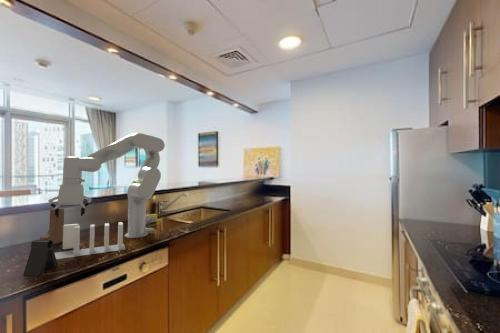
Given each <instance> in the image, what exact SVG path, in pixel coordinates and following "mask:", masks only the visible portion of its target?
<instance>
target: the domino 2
mask: <svg viewBox="0 0 500 333" xmlns="http://www.w3.org/2000/svg"><path fill="white" fill-rule="evenodd" d="M80 229H81V226H80V225H79V226H75V228H74V248H73V250H74V253H73V255H78V254H79V250H80V237H81V236H80V235H81V230H80Z"/></svg>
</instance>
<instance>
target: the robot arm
mask: <svg viewBox="0 0 500 333" xmlns="http://www.w3.org/2000/svg"><path fill="white" fill-rule="evenodd" d="M165 145H166V144H165V142H164V140H163V139H161V138H160V137H157V136H152V135H149V134H146V133H142V132H141V133H140V132H135V133H130V134H128V135H126V136H124V137H122V138H120V139H118V140H116V141H115V142H112V143H111V144H109V145H106V146H104V147H103V148H101V149H98V150H96V151H94V152H92V153H91V154H88V155H87V156H84V157H79V156H78V157H77V156H65V157H64V158H63V168H62V183H61V184H60V185H59V190H58V195H57V196H55V197H52V198H50V199H48V201H47V202H48V203H49V205H50V206H51V207H52V209H55V215H56V217H59V208H60V207H61V206H70V205H71V206H72V205H73V206H75V205H76V206H77V205H79V206H81V210H80V216H81V217H83V216H84V215H85V213H86V212H85V210H86V207H88V206H89V205H90V203H91V202H92V200H93V199H92V198H91V197H88V196H87V195H85V193H84V185H83V184H82V183H85V182H86V181H85V180H86V179H82V177H83V176H82V175H83V174H82V173H83V172H85V173H86V172H87V173H96V172H98V171H99V170H101V168H102V165H103V164H104V163H105V164H106V163H107V162H109V161H113V160H117V159H119V158H122V157H123V156H125V155H126V154H128V153H130V152H132V151H133V150H135V149H139V148H141V149H143V150H144V153H145V160H144V161H143V163H142V165H141V167H140V169H139V171H138V172H137V179H138V180H139V181H141V182H133V183H132V184H130V185H129V186H128V187H127V194H126V195H127V200H128V201H127V204H128V207H127V208H128V209H127V232H126V233H125V234H124V237H125V238H126V239H127V238H129V239H135V238H136V239H139V238H143V237H147V236H148V234H149V232H154V230H155V228H154V227H145V220H146V215H147V214H146V213H147V211H146V210H147V204H146V201H147V200H149V199H151V197H152V196H153V195H154V194H155V192H156V189H157V187H158V186H159V183H160V180H161V176H162V172H161V171H160V169H159V168H158V167H159V164H160V161H161V157H160V153H161V152H162V151H164V149H165ZM159 152H160V153H159ZM56 200H57V204H56V203H54V201H56ZM84 200H87V202H86V203H84Z"/></svg>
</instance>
